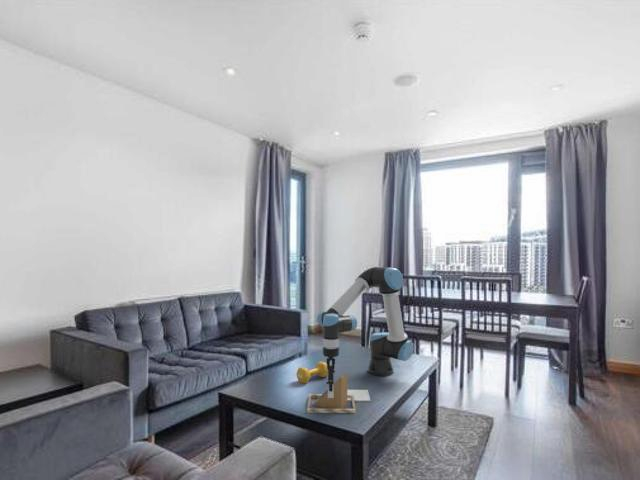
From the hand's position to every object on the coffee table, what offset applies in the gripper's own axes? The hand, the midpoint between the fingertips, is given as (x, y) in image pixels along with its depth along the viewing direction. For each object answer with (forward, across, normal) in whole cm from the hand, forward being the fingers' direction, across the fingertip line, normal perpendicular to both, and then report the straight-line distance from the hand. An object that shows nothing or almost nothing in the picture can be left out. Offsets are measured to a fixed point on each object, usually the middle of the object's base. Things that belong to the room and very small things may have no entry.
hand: (330, 392), depth 173 cm
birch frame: (+6, 0, 0) cm, 6 cm away
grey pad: (+6, -11, +13) cm, 18 cm away
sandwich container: (+7, -1, -1) cm, 7 cm away
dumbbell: (+6, -34, -10) cm, 36 cm away
